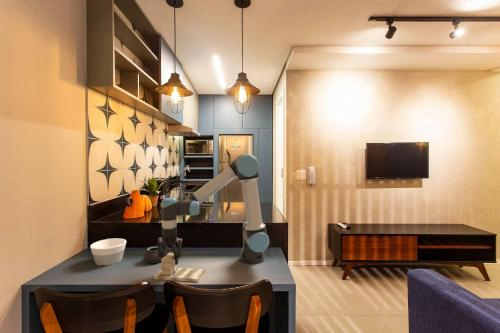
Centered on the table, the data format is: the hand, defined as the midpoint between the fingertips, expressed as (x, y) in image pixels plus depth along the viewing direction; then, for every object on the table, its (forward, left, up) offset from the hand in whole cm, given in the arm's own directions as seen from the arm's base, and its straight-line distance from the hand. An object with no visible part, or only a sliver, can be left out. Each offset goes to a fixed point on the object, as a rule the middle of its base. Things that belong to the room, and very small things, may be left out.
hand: (170, 270), depth 137 cm
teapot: (+17, -20, -3) cm, 27 cm away
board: (-6, 0, -3) cm, 6 cm away
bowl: (+45, -12, -3) cm, 47 cm away
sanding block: (0, 0, -1) cm, 1 cm away
